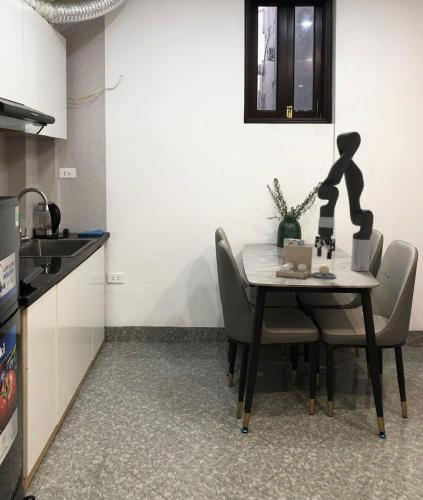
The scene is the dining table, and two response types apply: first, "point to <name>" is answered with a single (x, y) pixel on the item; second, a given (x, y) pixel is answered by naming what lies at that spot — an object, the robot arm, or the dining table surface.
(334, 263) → the dining table surface
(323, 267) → the brown egg
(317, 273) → the slate saucer
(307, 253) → the egg carton
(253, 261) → the dining table surface
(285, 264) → the white egg
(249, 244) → the dining table surface
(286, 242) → the candy bar box
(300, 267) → the white egg
